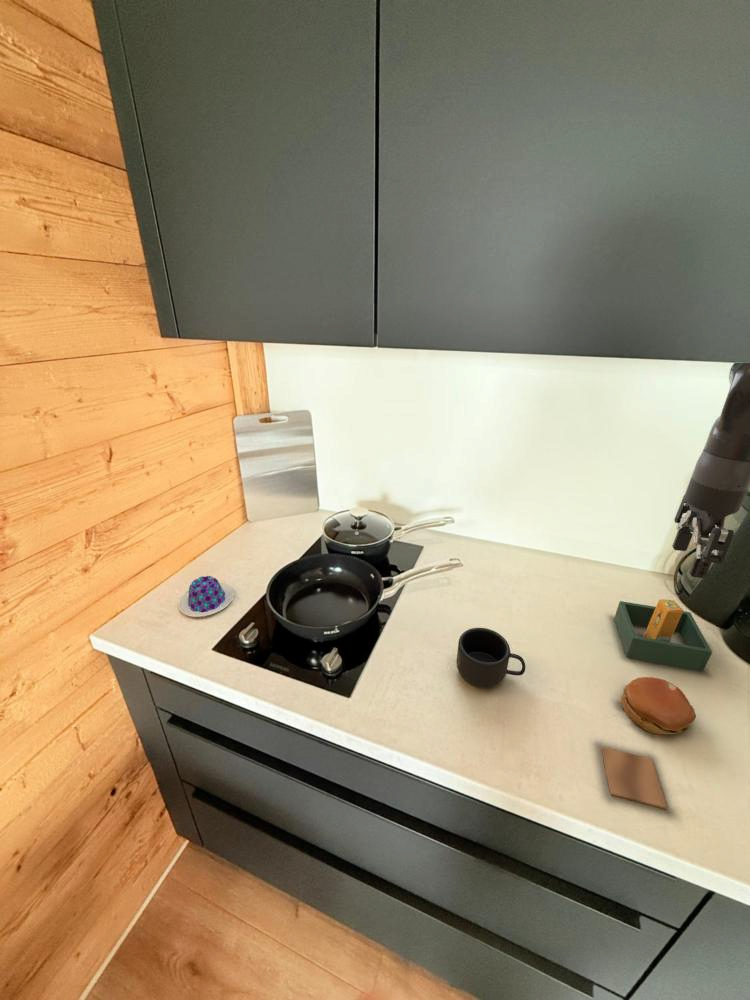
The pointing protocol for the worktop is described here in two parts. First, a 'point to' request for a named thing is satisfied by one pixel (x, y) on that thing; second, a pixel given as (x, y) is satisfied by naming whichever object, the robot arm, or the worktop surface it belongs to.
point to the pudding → (205, 597)
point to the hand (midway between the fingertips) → (687, 562)
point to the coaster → (633, 777)
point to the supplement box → (664, 620)
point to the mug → (484, 658)
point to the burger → (657, 706)
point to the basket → (659, 651)
